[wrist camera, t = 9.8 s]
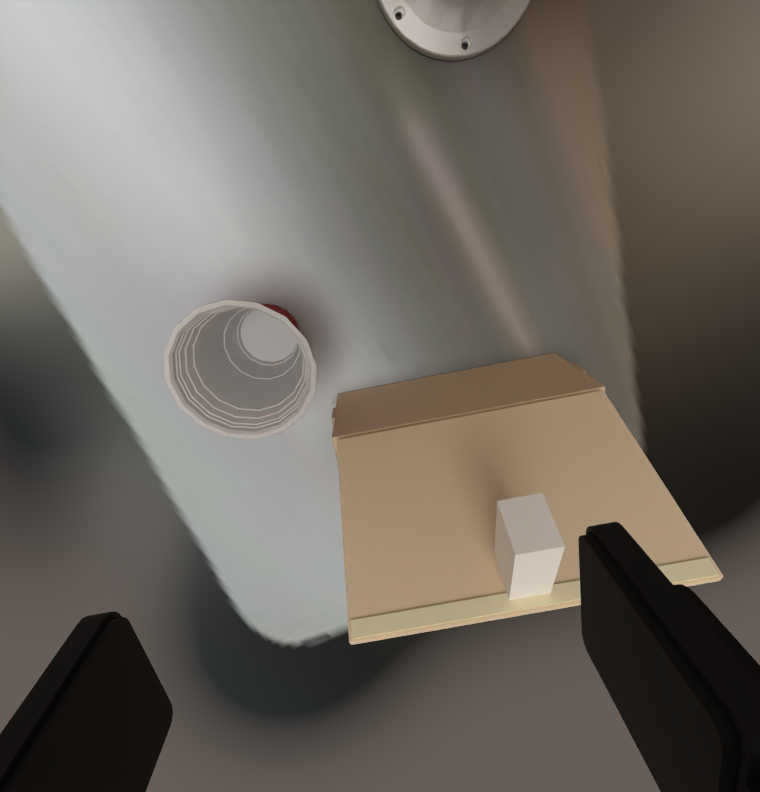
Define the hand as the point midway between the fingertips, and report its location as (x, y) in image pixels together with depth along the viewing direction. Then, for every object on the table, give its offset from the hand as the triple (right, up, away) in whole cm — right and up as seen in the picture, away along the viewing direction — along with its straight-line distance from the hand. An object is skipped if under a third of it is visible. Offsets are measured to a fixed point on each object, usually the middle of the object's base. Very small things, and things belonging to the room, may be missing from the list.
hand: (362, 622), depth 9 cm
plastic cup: (-10, +10, +35) cm, 38 cm away
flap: (+8, -2, +22) cm, 24 cm away
